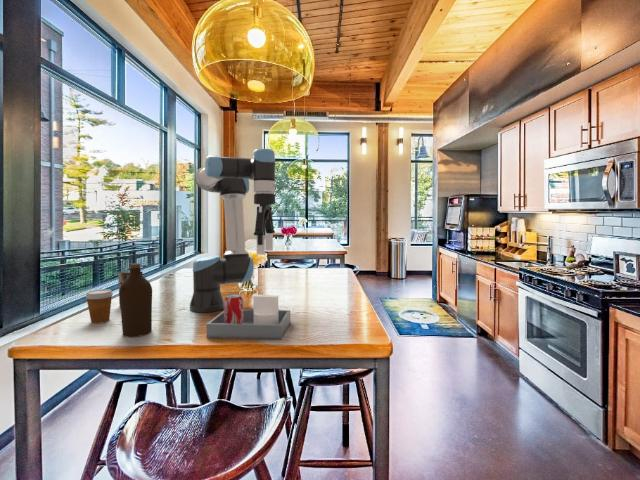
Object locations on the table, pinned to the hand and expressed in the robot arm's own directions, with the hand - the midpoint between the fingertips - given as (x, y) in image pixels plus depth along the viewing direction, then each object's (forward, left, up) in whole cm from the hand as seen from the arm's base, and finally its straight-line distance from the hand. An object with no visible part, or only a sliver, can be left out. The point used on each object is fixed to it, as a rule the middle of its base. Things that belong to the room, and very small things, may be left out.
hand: (265, 252), depth 135 cm
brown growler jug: (-46, -6, -29) cm, 54 cm away
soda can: (-12, 0, -28) cm, 31 cm away
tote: (-6, 0, -29) cm, 29 cm away
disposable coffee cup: (-68, +7, -29) cm, 75 cm away
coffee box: (-70, +32, -29) cm, 83 cm away
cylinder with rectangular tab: (0, 0, -28) cm, 28 cm away
